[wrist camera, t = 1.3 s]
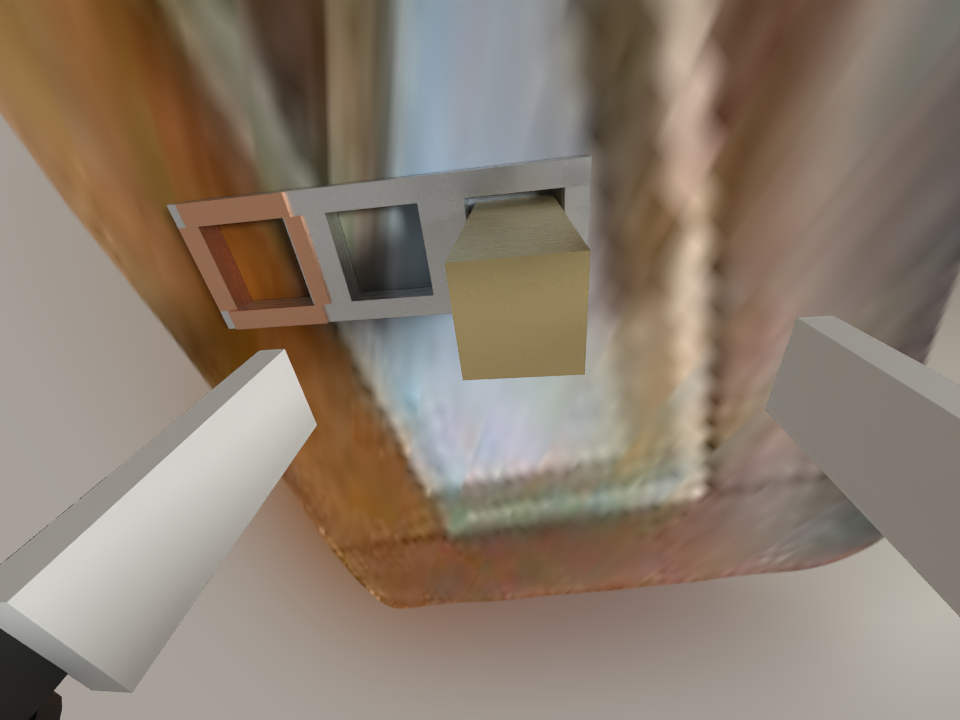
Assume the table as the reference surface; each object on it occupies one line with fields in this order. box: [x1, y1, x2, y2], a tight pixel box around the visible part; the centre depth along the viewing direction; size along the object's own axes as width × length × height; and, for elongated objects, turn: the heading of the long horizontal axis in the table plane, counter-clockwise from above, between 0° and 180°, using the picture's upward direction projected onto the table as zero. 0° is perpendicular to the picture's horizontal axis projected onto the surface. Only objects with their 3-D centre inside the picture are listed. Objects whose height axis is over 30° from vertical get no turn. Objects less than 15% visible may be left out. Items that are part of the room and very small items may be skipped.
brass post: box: [445, 194, 590, 380], centre depth 17 cm, size 4×4×12 cm
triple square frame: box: [167, 155, 592, 330], centre depth 23 cm, size 8×24×2 cm, turn 96°
